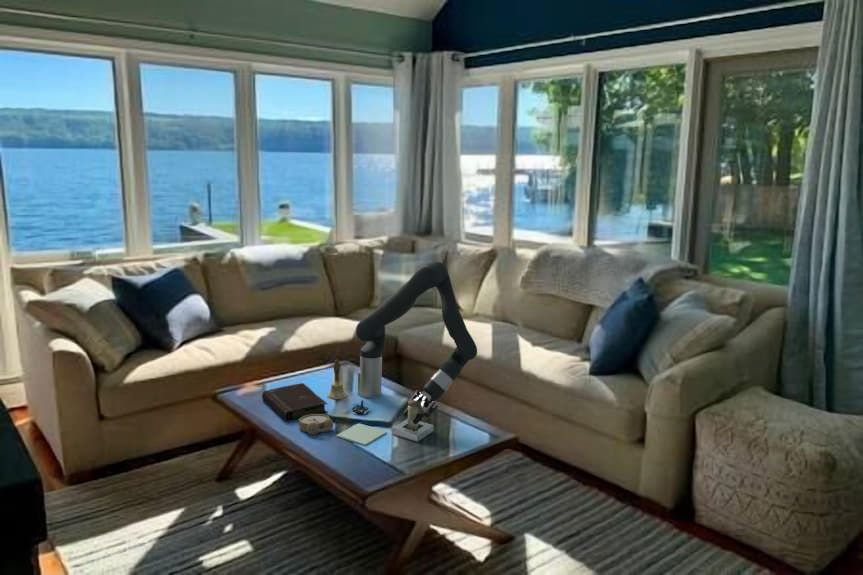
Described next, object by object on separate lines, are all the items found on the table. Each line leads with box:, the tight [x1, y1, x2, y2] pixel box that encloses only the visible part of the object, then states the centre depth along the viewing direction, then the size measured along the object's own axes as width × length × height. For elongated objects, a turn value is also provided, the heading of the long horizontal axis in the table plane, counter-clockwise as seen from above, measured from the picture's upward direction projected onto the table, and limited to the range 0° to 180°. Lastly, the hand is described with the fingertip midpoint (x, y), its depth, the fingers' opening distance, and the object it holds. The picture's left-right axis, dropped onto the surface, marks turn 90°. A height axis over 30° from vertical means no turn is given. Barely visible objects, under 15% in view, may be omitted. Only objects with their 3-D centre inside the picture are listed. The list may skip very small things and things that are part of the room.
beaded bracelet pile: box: [351, 399, 369, 414], centre depth 256 cm, size 8×7×8 cm
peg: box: [407, 399, 420, 431], centre depth 237 cm, size 4×4×12 cm
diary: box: [261, 382, 329, 423], centre depth 258 cm, size 19×25×5 cm
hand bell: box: [326, 359, 348, 400], centre depth 270 cm, size 8×8×16 cm
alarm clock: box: [298, 414, 334, 436], centre depth 238 cm, size 11×5×15 cm
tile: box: [336, 423, 388, 447], centre depth 235 cm, size 13×13×1 cm
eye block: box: [391, 418, 434, 442], centre depth 238 cm, size 11×11×2 cm
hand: (409, 419), depth 236 cm, fingers open, 6 cm apart
